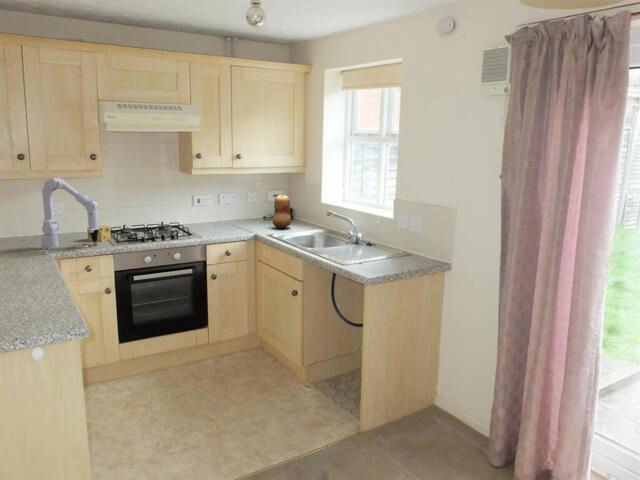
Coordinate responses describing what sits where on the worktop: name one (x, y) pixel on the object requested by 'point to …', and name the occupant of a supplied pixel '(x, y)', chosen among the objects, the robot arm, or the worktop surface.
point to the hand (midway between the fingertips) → (94, 241)
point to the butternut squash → (282, 212)
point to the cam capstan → (84, 245)
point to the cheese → (101, 234)
